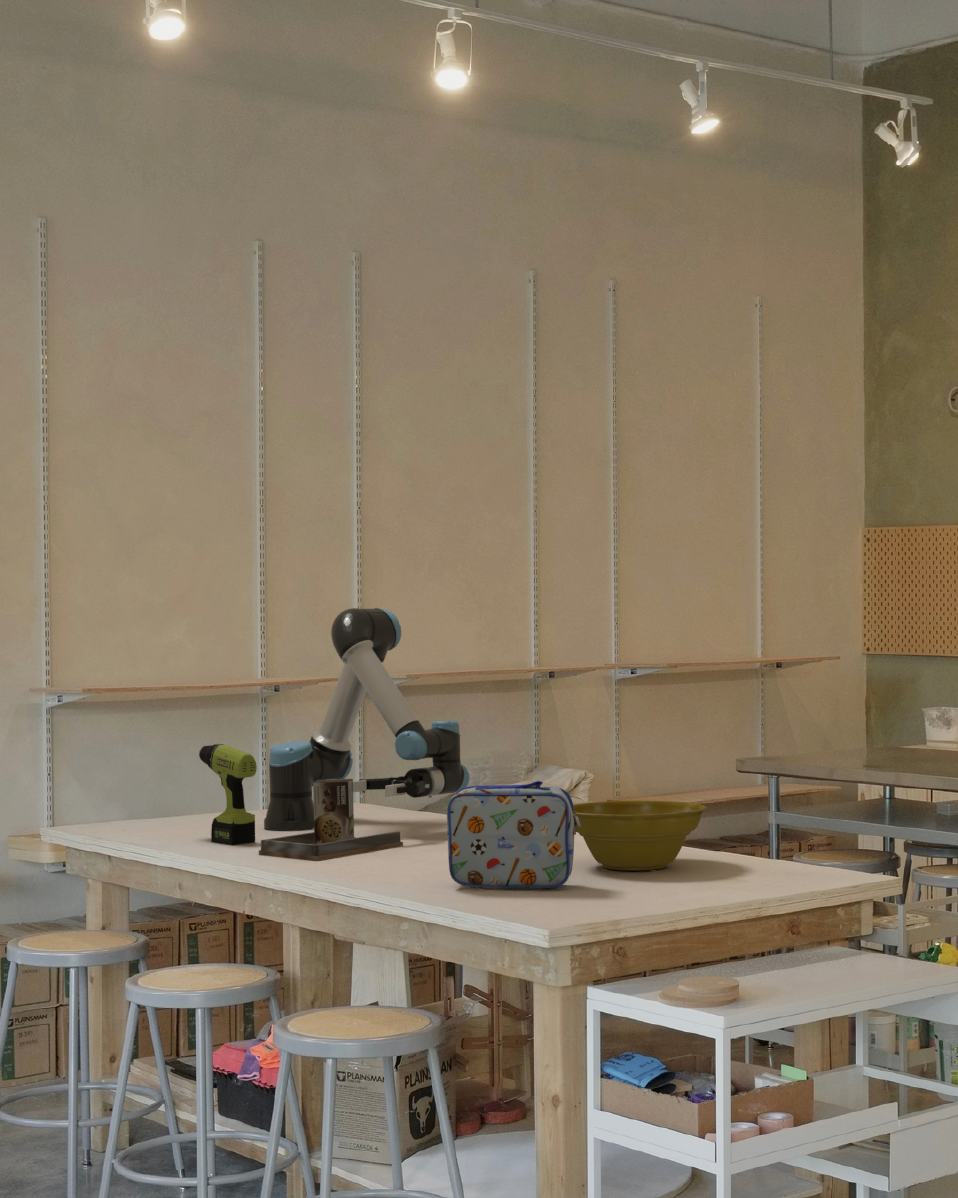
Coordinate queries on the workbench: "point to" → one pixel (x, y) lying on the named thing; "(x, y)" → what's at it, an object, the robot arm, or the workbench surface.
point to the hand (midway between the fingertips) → (366, 789)
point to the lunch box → (511, 836)
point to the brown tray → (326, 846)
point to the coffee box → (333, 810)
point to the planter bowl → (636, 831)
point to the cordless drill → (231, 793)
